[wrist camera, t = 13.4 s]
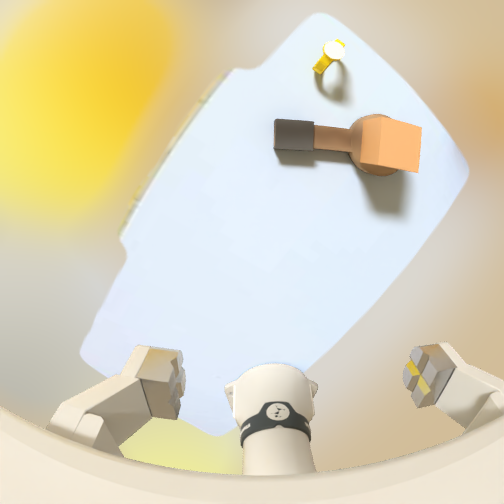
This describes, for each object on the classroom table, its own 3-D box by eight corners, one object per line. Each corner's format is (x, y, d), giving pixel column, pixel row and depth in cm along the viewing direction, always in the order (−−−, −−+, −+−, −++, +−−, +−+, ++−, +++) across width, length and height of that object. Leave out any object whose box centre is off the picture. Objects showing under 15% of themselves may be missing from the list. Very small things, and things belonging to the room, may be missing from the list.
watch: (326, 44, 32) (337, 29, 26) (341, 54, 32) (355, 41, 26) (304, 69, 33) (313, 57, 28) (320, 81, 34) (332, 70, 28)
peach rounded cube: (399, 129, 34) (421, 127, 28) (396, 168, 36) (418, 172, 30) (363, 120, 33) (381, 116, 28) (359, 162, 35) (378, 164, 30)
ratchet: (397, 177, 38) (415, 181, 33) (273, 166, 38) (276, 168, 33) (400, 121, 35) (418, 119, 30) (274, 104, 35) (278, 96, 30)
